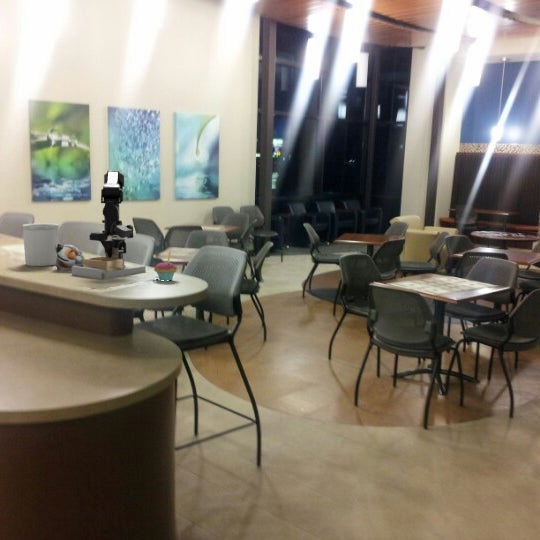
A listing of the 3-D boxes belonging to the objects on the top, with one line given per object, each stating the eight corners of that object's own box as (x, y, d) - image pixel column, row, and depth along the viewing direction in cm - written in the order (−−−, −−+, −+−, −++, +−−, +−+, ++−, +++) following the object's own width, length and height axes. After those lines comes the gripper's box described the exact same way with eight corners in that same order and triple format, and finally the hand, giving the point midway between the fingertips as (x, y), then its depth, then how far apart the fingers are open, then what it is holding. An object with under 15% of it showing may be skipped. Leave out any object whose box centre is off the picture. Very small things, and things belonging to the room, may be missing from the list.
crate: (103, 270, 239) (102, 246, 237) (125, 273, 233) (125, 248, 231) (83, 274, 229) (82, 248, 228) (105, 277, 224) (105, 251, 222)
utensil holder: (16, 264, 255) (14, 224, 252) (41, 260, 269) (40, 222, 266) (42, 267, 250) (41, 226, 247) (66, 263, 263) (66, 224, 261)
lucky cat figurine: (96, 269, 249) (94, 242, 240) (76, 283, 240) (72, 256, 232) (70, 256, 254) (66, 229, 245) (48, 270, 245) (44, 243, 237)
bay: (114, 270, 248) (114, 259, 247) (145, 274, 240) (145, 263, 239) (71, 277, 228) (71, 266, 227) (104, 282, 220) (103, 270, 219)
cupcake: (180, 279, 231) (180, 249, 229) (170, 283, 223) (170, 251, 221) (161, 277, 234) (161, 247, 232) (150, 281, 226) (150, 250, 224)
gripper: (109, 220, 220) (109, 261, 222) (143, 218, 236) (143, 256, 238) (88, 218, 225) (88, 258, 227) (122, 216, 241) (123, 254, 243)
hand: (112, 257), depth 234 cm, fingers closed on crate, 2 cm apart
